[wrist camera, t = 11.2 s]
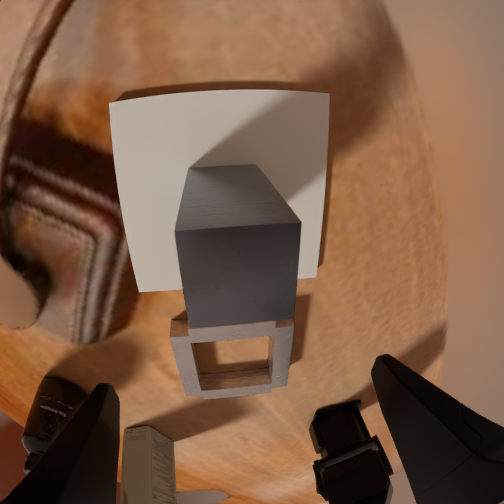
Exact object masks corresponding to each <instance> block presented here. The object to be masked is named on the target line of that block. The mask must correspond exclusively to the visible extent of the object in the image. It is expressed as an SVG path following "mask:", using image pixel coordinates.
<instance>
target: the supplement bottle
mask: <svg viewBox="0 0 504 504" xmlns="http://www.w3.org/2000/svg"><path fill="white" fill-rule="evenodd" d="M87 397H88V395H87V394H86V393H85V392H84V391H83V390H82V389H81V388H79V387H78V386H76V385H75V384H73V383H71V382H69V381H67V380H64V379H61V378H57V377H48V378H45V379H43V380H42V381H41V383H40V385H39V387H38V390H37V393H36V395H35V398H34V401H33V404H32V407H31V409H30V412H29V415H28V418H27V422H26V425H25V428H24V431H23V435H22V443H23V446H24V447H25V449H26V450H27V452H28V453H29V456H26V458H25V465H24V472H25V473H26V474H28V473H29V472H30V471H31V469H32V468H33V467H34V466H35V464H36V463H37V462H38V461H39V459H40V458H41V457H42V455H44V453H45V451H46V450H47V449H48V447H49V446H50V445H51V443H52V442H53V441H54V440H55V438H56V437H57V436H58V434H59V433H60V432H61V430H62V429H63V428H64V427H65V425H66V424H67V423H68V421H69V420H70V419H71V418H72V416H73V415H74V414H75V412H76V411H77V410H78V409H79V407H80V406H81V405H82V404H83V402H84V401H85V400H86V399H87Z"/></svg>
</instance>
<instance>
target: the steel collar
mask: <svg viewBox="0 0 504 504" xmlns="http://www.w3.org/2000/svg"><path fill="white" fill-rule="evenodd" d="M293 333H294V324H293V321H292V318H290V319H282V320H274V321H265V322H256V323H247V324H237V325H226V326H214V327H202V328H190V327H189V322H188V319H181V320H171V327H170V341H171V345H172V349H173V352H174V356H175V359H176V363H177V367H178V370H179V373H180V377H181V380H182V383H183V387H184V390H185V393H186V396H198V395H202V396H203V399H216V398H227V397H237V396H247V395H255V394H263V393H270V392H271V388H275V387H282V386H287V381H288V373H289V366H290V358H291V350H292V342H293ZM264 336H269V350H268V368H262V369H254V370H245V371H236V372H225V373H214V374H200V370H199V365H198V361H197V356H196V351H195V346H194V343H200V342H213V341H225V340H236V339H246V338H255V337H264Z"/></svg>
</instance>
